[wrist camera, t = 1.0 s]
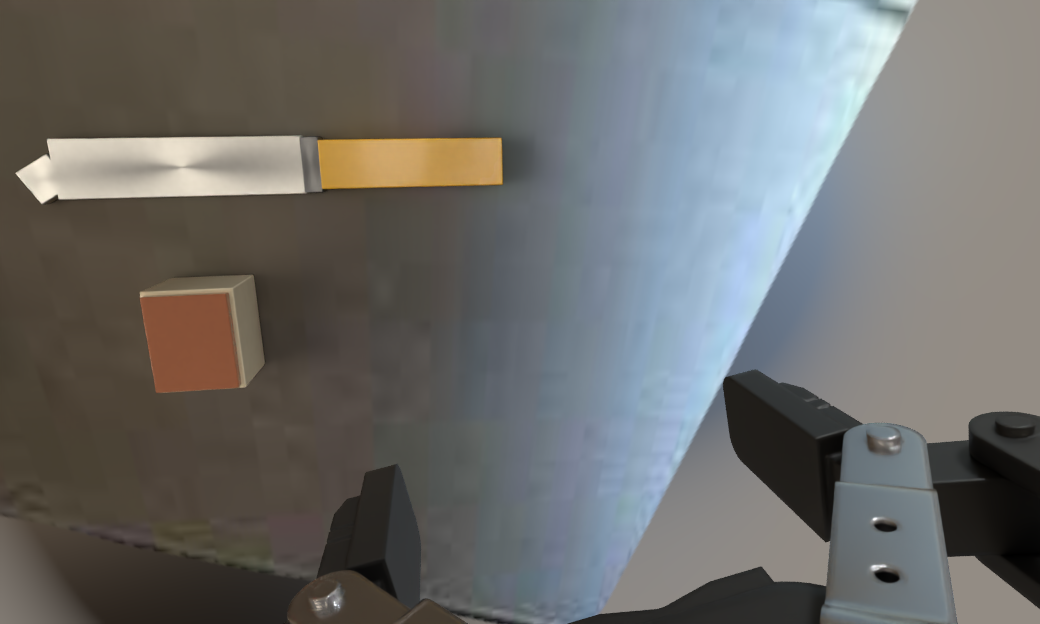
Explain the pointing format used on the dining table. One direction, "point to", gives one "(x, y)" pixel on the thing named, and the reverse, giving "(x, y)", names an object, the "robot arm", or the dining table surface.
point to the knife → (253, 165)
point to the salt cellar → (203, 332)
